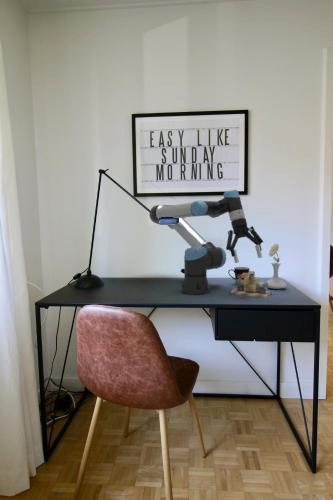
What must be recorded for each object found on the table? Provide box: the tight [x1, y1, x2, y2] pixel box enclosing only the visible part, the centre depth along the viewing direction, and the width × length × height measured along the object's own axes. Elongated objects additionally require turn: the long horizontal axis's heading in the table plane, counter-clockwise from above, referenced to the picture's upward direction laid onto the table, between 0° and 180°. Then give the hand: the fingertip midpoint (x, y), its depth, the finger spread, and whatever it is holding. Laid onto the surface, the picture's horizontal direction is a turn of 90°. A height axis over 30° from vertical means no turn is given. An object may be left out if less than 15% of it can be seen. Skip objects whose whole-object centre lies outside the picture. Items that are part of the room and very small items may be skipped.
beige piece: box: [230, 273, 273, 299], centre depth 166 cm, size 18×10×10 cm, turn 57°
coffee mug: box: [227, 266, 250, 281], centre depth 188 cm, size 12×9×10 cm
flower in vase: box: [266, 243, 287, 290], centre depth 177 cm, size 13×11×25 cm
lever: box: [241, 270, 256, 278], centre depth 161 cm, size 14×3×2 cm, turn 147°
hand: (248, 260), depth 162 cm, fingers open, 13 cm apart
